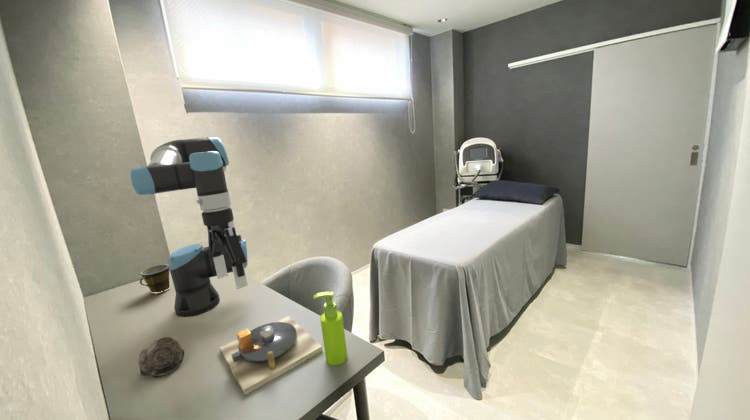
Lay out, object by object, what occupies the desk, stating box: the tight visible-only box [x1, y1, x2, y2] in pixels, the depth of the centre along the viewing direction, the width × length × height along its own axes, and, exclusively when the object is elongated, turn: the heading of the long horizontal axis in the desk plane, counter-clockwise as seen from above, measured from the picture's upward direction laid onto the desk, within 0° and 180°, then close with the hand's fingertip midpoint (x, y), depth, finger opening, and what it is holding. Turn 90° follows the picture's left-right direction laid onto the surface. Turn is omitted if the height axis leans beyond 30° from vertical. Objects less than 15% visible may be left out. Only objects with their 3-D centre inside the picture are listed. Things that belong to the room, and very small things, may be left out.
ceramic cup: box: [139, 263, 170, 293], centre depth 134 cm, size 13×10×10 cm
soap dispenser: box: [312, 291, 348, 366], centre depth 85 cm, size 6×7×20 cm
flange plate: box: [231, 321, 297, 363], centre depth 90 cm, size 18×16×6 cm
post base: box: [219, 315, 323, 396], centre depth 92 cm, size 22×22×6 cm
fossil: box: [138, 335, 185, 379], centre depth 89 cm, size 11×9×10 cm
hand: (232, 281), depth 90 cm, fingers open, 13 cm apart
